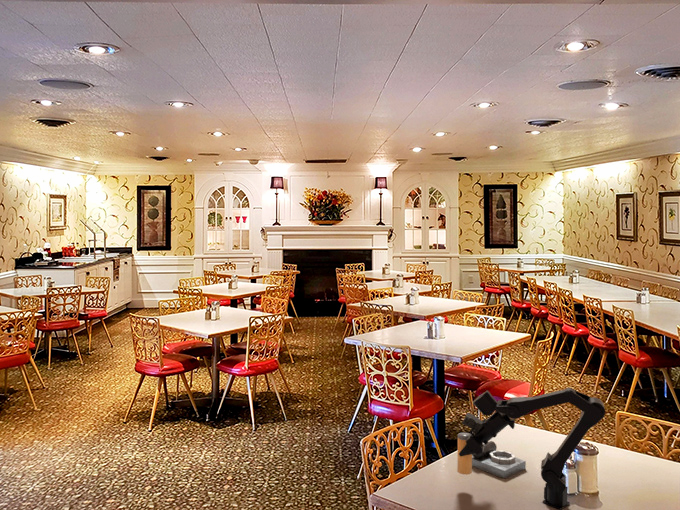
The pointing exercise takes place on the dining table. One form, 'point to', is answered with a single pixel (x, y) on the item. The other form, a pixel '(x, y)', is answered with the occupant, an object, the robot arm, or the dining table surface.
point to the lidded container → (463, 461)
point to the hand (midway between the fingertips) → (460, 452)
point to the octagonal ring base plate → (497, 461)
